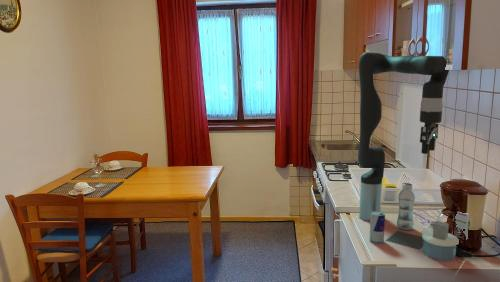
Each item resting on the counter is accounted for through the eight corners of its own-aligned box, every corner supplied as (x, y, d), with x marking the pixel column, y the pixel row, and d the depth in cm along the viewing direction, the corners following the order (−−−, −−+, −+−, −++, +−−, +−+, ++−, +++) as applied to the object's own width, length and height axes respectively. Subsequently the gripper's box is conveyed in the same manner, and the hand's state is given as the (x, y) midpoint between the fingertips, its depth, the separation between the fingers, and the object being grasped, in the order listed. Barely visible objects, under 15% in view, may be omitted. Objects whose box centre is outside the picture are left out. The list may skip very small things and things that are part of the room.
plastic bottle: (413, 233, 160) (416, 186, 157) (396, 231, 162) (399, 185, 159) (412, 227, 166) (415, 182, 163) (395, 225, 168) (398, 181, 165)
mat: (397, 231, 161) (397, 230, 161) (430, 239, 153) (430, 238, 153) (385, 241, 152) (385, 240, 152) (419, 250, 143) (419, 249, 143)
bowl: (428, 246, 146) (429, 232, 146) (457, 254, 140) (458, 239, 139) (420, 255, 139) (421, 240, 138) (450, 264, 132) (451, 248, 132)
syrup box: (465, 251, 143) (468, 213, 141) (451, 245, 148) (454, 209, 146) (475, 247, 145) (478, 211, 143) (460, 242, 151) (463, 206, 148)
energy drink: (384, 245, 147) (386, 216, 146) (370, 244, 149) (371, 215, 147) (382, 240, 153) (384, 211, 151) (368, 239, 154) (370, 210, 152)
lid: (427, 230, 147) (428, 215, 146) (462, 238, 139) (463, 223, 138) (417, 240, 138) (418, 224, 137) (454, 249, 130) (455, 233, 129)
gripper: (426, 108, 152) (423, 148, 155) (414, 110, 141) (411, 153, 144) (447, 109, 147) (443, 150, 150) (436, 111, 137) (433, 156, 139)
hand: (428, 151), depth 147 cm, fingers open, 8 cm apart
